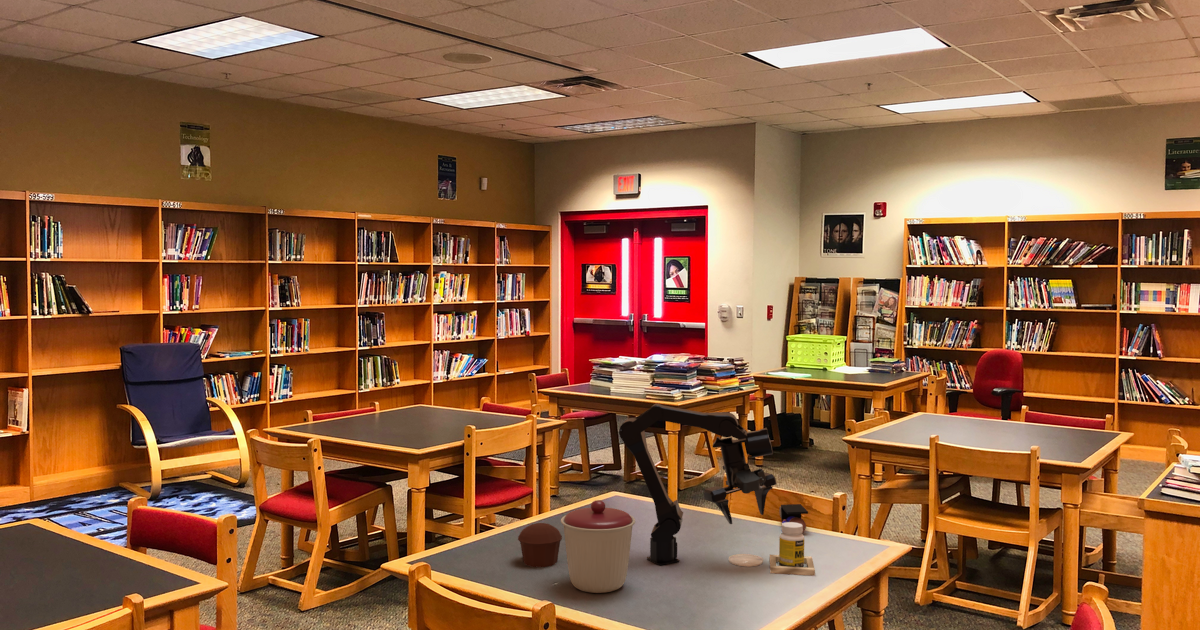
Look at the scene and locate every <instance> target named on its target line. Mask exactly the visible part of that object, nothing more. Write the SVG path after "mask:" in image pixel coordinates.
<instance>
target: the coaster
mask: <svg viewBox="0 0 1200 630" xmlns="http://www.w3.org/2000/svg"><path fill="white" fill-rule="evenodd" d="M728 562H729V563H730V564H732V565H735V566H739V567H746V568H747V567H750V568H752V567H758V566H762V564H763V563H764V558H763V557H762V556H761V557H760V556H759V555H757V554H756V555H755V554H750V553H749V554H748V553H738V554H737V553H736V554H733V555H730V556H729V557H728Z"/></svg>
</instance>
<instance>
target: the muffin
mask: <svg viewBox="0 0 1200 630" xmlns="http://www.w3.org/2000/svg"><path fill="white" fill-rule="evenodd" d="M562 536H563V535H562V534H561V532H560V530H559V529H558V528H557V527H555V526H554V525H552V524H550V523H545V522H536V523H532V524H530V525H529V524H528V526H526V527H524V528H523V529H522V530H521V531H520V533H519V534H518V536H517V540H518V541H519V543H520V549H521V554H522V561H523V563H524V564H525V566H528V567H532V568H546V567H551V566H552V567H553V566H554V565H556V564H557V563H558V558H559V552H560V544H561V541H562V539H563V537H562Z"/></svg>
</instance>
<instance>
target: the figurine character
mask: <svg viewBox="0 0 1200 630" xmlns="http://www.w3.org/2000/svg"><path fill="white" fill-rule="evenodd" d="M778 512H779V517H780V518H781V520H780V521H781V524H782V523H786V522H795V523H800V524H802V525H803V533H804V532H805V531H806V528H807V524H806V522H805V520H804V519H803V518H802V515H808V514H809V511H808V510H807V509H806V508H805V506H803V505H802V504H800V503H796V504H793V503H792V504H791V503H790V504H780V506H779V511H778Z"/></svg>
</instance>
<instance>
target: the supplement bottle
mask: <svg viewBox="0 0 1200 630" xmlns="http://www.w3.org/2000/svg"><path fill="white" fill-rule="evenodd" d="M803 533H804V532H803V525H802V524H800V523H795V522H786V523H782V522H781V533H780V534H779V537H778V538H779V539H778V540H779V546H778V547H779V550H778V551H779V552H778V555H779V562H778V566H788V567H805V564H804V556H805V536H804V534H803Z"/></svg>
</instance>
